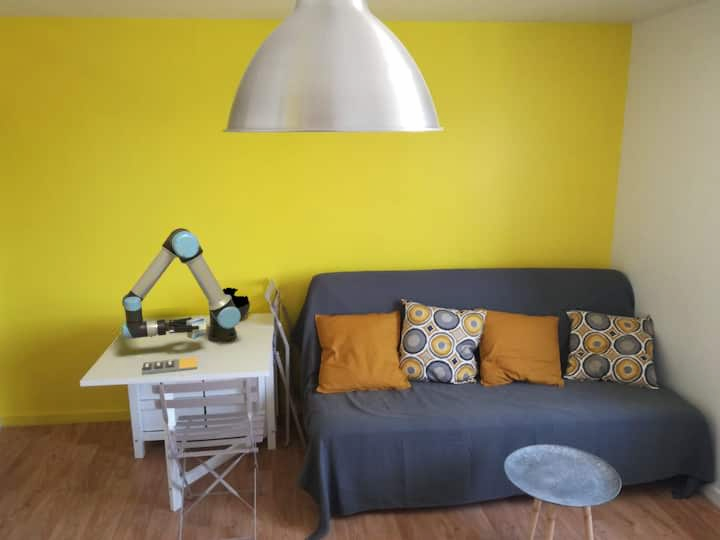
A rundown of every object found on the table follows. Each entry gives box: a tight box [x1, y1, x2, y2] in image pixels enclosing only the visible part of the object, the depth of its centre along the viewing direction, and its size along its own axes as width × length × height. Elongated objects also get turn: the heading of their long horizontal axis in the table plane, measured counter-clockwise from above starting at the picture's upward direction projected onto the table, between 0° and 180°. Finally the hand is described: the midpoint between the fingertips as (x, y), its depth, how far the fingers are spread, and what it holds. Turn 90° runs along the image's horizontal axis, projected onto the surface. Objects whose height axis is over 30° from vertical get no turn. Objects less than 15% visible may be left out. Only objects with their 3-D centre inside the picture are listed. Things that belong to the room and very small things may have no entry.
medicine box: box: [186, 316, 206, 340], centre depth 299 cm, size 8×4×9 cm, turn 146°
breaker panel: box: [141, 356, 198, 376], centre depth 285 cm, size 24×13×3 cm, turn 106°
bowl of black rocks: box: [222, 286, 251, 320], centre depth 350 cm, size 20×20×19 cm
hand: (205, 323), depth 300 cm, fingers closed on medicine box, 8 cm apart
